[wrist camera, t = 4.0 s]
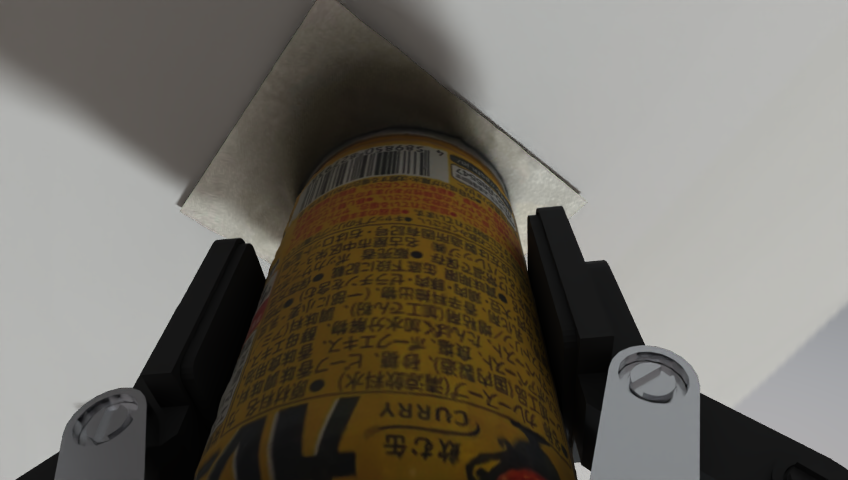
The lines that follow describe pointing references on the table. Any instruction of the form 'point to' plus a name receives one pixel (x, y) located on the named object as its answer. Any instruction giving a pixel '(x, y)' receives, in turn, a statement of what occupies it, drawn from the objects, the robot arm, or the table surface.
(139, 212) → the table surface
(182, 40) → the table surface
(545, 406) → the condiment
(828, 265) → the table surface
